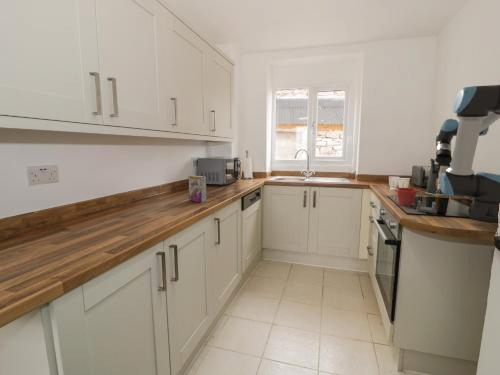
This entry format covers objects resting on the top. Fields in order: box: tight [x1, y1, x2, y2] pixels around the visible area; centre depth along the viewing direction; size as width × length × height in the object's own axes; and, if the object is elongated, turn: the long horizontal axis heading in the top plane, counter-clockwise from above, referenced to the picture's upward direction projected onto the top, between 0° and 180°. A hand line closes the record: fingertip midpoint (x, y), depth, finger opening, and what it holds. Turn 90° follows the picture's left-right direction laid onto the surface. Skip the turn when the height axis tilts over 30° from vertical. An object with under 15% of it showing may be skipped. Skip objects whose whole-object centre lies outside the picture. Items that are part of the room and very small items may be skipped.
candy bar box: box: [188, 174, 207, 204], centre depth 173 cm, size 11×5×16 cm, turn 58°
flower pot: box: [396, 187, 418, 207], centre depth 168 cm, size 11×11×10 cm
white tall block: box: [437, 165, 449, 191], centre depth 155 cm, size 4×6×13 cm, turn 151°
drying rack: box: [415, 200, 437, 214], centre depth 151 cm, size 9×8×5 cm
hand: (444, 182), depth 152 cm, fingers closed on white tall block, 4 cm apart
